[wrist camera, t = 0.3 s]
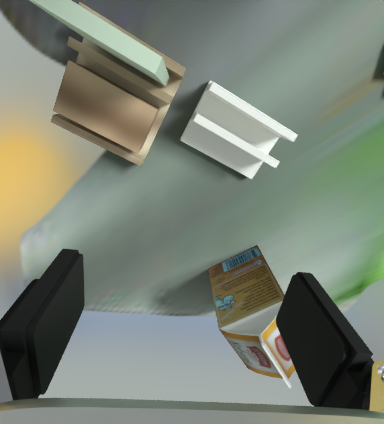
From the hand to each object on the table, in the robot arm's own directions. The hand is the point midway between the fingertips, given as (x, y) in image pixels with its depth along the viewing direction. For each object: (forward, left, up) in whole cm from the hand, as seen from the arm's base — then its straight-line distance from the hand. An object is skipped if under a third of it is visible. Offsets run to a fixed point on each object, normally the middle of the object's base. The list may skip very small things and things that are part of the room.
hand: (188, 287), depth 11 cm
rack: (-3, -11, -31) cm, 33 cm away
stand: (-6, +5, -31) cm, 32 cm away
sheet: (-8, -11, -30) cm, 33 cm away
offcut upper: (-1, -11, -27) cm, 29 cm away
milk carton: (+16, +22, -31) cm, 42 cm away
